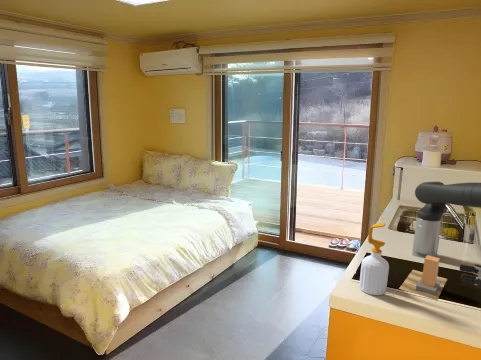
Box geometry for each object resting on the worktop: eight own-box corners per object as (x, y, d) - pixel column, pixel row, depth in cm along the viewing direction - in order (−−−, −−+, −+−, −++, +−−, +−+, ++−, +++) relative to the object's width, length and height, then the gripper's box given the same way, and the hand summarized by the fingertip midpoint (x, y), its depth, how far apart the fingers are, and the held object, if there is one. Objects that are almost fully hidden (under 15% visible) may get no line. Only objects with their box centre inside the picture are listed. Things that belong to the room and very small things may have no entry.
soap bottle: (383, 298, 124) (391, 229, 119) (356, 291, 129) (362, 224, 124) (388, 288, 132) (396, 222, 127) (362, 281, 136) (369, 217, 132)
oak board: (412, 273, 144) (412, 269, 144) (446, 282, 137) (447, 278, 137) (398, 292, 129) (399, 288, 129) (436, 304, 122) (437, 300, 121)
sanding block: (421, 280, 135) (425, 252, 133) (439, 286, 131) (444, 256, 129) (415, 289, 128) (419, 260, 126) (434, 295, 124) (439, 265, 122)
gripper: (517, 264, 121) (460, 254, 128) (527, 283, 108) (463, 269, 115) (513, 285, 122) (457, 274, 129) (522, 306, 110) (459, 291, 117)
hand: (460, 272), depth 122 cm, fingers open, 8 cm apart
